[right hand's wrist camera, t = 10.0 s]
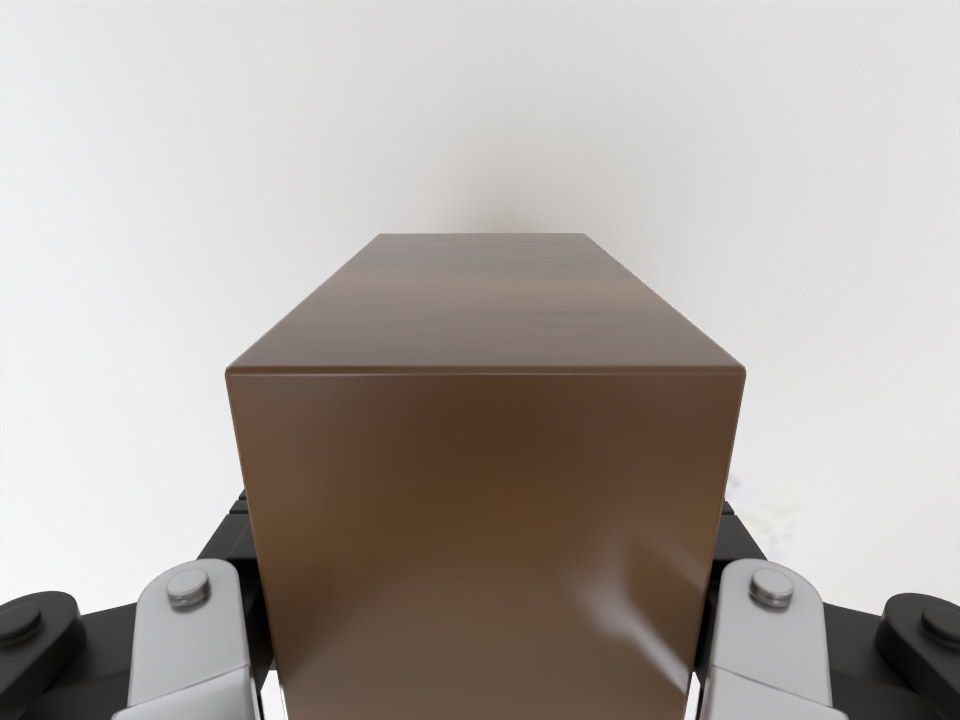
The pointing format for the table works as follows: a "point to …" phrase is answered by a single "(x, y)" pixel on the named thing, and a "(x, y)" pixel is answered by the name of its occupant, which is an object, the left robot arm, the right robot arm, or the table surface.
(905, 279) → the table surface
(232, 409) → the box
